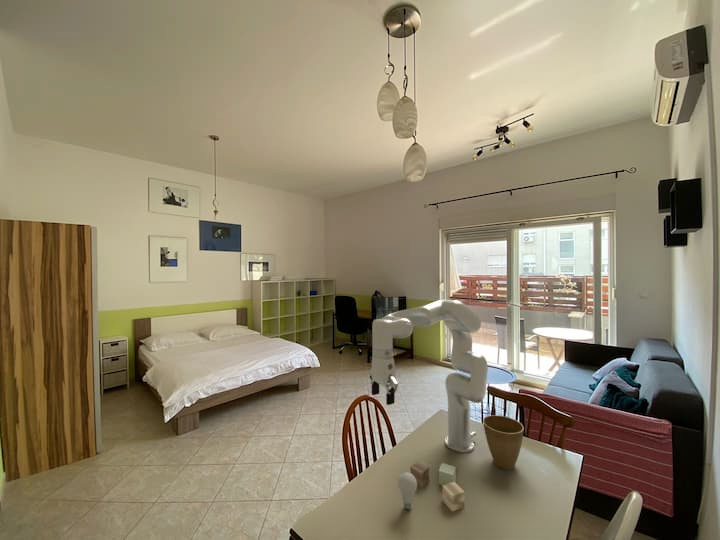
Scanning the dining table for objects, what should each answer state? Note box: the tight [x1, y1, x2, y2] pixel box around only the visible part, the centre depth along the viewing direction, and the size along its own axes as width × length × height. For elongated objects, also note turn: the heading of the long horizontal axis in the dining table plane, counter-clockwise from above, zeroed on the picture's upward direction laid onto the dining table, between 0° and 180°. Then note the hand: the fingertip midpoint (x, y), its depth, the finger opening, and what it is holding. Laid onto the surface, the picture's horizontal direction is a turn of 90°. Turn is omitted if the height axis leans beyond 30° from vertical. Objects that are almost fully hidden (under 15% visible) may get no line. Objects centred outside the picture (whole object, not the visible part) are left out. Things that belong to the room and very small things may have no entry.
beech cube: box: [441, 481, 466, 512], centre depth 96 cm, size 5×5×5 cm
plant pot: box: [482, 414, 525, 470], centre depth 117 cm, size 15×15×16 cm
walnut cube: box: [409, 460, 430, 488], centre depth 107 cm, size 5×5×5 cm
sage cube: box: [438, 462, 457, 486], centre depth 106 cm, size 5×5×5 cm
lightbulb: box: [397, 471, 418, 510], centre depth 94 cm, size 6×6×11 cm
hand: (382, 398), depth 107 cm, fingers open, 9 cm apart
